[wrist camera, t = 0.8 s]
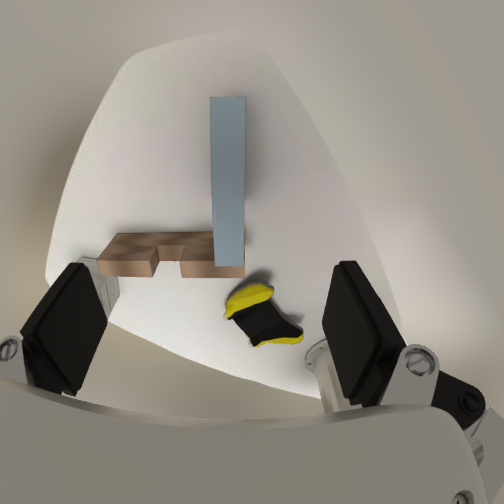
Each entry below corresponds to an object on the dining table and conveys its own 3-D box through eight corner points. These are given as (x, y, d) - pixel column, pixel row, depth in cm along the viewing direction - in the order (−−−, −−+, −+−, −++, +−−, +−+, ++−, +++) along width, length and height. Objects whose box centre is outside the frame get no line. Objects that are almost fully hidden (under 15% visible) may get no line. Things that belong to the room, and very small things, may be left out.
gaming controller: (265, 264, 43) (213, 291, 45) (268, 286, 38) (210, 313, 41) (303, 320, 50) (257, 340, 52) (309, 342, 45) (259, 362, 48)
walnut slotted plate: (243, 231, 40) (244, 260, 33) (243, 246, 41) (244, 277, 34) (117, 233, 39) (96, 260, 32) (120, 247, 40) (100, 275, 33)
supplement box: (87, 288, 44) (58, 335, 33) (81, 255, 41) (46, 300, 30) (120, 295, 45) (96, 346, 34) (117, 261, 42) (86, 312, 31)
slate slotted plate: (242, 202, 38) (243, 266, 24) (224, 203, 38) (215, 266, 24) (243, 102, 31) (245, 96, 17) (223, 102, 31) (210, 97, 17)
